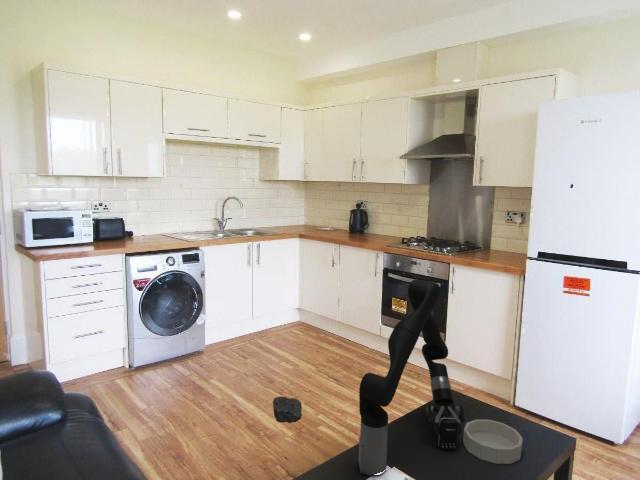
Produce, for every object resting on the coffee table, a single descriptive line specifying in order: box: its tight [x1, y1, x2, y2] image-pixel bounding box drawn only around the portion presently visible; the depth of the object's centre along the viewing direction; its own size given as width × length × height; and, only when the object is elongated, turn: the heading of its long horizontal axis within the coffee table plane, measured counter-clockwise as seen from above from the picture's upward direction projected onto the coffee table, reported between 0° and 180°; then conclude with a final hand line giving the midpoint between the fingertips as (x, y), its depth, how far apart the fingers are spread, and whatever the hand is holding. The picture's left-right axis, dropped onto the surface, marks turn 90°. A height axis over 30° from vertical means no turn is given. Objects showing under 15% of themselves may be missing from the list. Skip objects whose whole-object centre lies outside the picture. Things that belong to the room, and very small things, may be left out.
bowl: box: [462, 419, 523, 465], centre depth 167 cm, size 20×20×6 cm
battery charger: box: [437, 417, 460, 451], centre depth 165 cm, size 7×4×11 cm, turn 89°
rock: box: [272, 396, 303, 424], centre depth 186 cm, size 13×6×15 cm
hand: (448, 434), depth 165 cm, fingers closed on battery charger, 7 cm apart
